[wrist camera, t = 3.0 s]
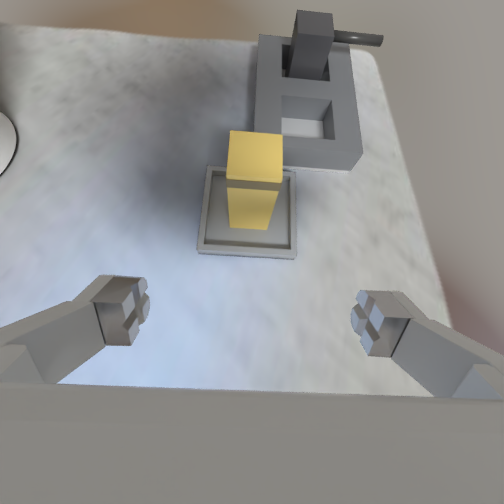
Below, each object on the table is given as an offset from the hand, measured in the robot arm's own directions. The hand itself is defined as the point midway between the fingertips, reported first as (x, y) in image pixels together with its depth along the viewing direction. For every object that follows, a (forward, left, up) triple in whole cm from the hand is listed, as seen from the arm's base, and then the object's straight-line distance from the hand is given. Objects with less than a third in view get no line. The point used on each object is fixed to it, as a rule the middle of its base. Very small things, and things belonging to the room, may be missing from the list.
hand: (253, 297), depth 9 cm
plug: (0, +11, -14) cm, 18 cm away
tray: (0, +11, -14) cm, 18 cm away
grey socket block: (+6, +27, -14) cm, 31 cm away
